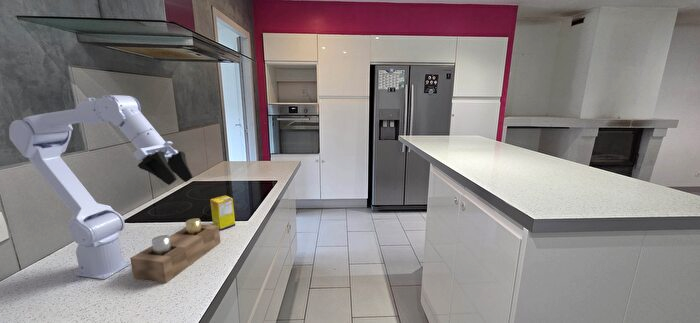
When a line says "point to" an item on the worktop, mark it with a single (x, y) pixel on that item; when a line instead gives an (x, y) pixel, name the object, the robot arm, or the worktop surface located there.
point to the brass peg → (193, 226)
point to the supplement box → (222, 212)
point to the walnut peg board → (175, 255)
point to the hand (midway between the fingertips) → (181, 180)
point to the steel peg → (161, 245)
